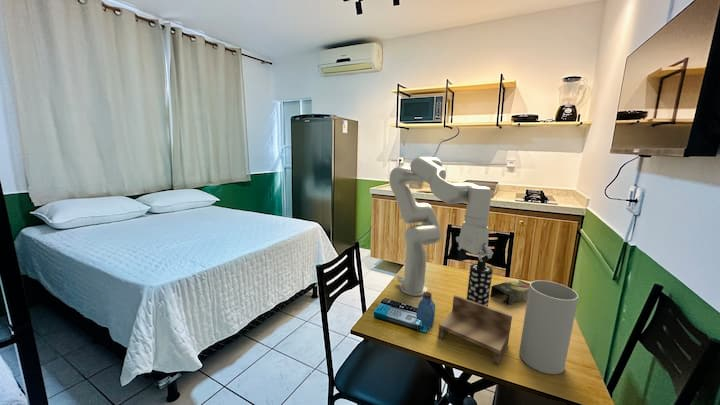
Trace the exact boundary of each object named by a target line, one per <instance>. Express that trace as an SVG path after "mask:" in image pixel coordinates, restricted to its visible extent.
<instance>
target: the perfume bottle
mask: <svg viewBox="0 0 720 405" xmlns="http://www.w3.org/2000/svg"><path fill="white" fill-rule="evenodd" d="M421 297H422V298H421V300H420V301H419V302H418V306H417V309H416V315H415V316H416V317H415V320H416V319H419V320H421V321H422V325H423V326H425V327H424V328H428V329H433V328H434V327H433V326H434V321H435V316H436V312H435V311H436V304H435V301H434V300H433V297H432V292H429V291H427V292H424V293H423V295H422V296H421ZM423 326H422V327H423Z"/></svg>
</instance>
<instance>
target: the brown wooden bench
mask: <svg viewBox="0 0 720 405" xmlns="http://www.w3.org/2000/svg"><path fill="white" fill-rule="evenodd" d="M451 309H452V310H451V311H450V312H449V313H448V314H447V315H446V316H445V317H444V319H443V320H442V321H440V323H439V325H438V335H437V339H438V340H441V341H443V340H444V339H445V338H446V337H447V336H448V335H449V334H450V333H451V334H453V335H455V336H458V337H460V338H462V339H464V340H467V341H469V342H471V343H473V344H475V345H478V346H481V348H485V349H488V350H489V351H492V352H493V359H492V365H494V366H496V367H499V365H500V362H502V361H501V360H502V359H503V356H504V354H505V352H506V350H507V348H508V347H509V346H508V345H509V342H510V341H509V340H510V333H511V326H512V321H513V320H512V319H513V314H510V313H508V312H505V311H501V310H499V309H497V308H496V309H495V308H493V307H490V306H489V305H488V306H485V305H482V304H479V303H476V302H473V301H471V300H468V299H467V298H465V297H462V296H460V295H457V294H454V295H453V301H452V308H451Z"/></svg>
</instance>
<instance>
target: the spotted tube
mask: <svg viewBox="0 0 720 405" xmlns="http://www.w3.org/2000/svg"><path fill="white" fill-rule="evenodd" d="M492 278H493V268H492V267H490V266H489V265H485V271H481V272H478V271H477V263H472V264H470V265H469V274H468V283H467V291H466V299H468V300H471V301H473V302H476V303H479V304H482V305H485V306H488V307H489V303H490V302H489V301H490V294H491V286H492V285H491V284H492Z"/></svg>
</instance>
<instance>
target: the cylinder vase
mask: <svg viewBox="0 0 720 405" xmlns="http://www.w3.org/2000/svg"><path fill="white" fill-rule="evenodd" d="M529 284H530V287H529V293H528V299H527V300H526V306H525V313H524V319H523V326H522V331H521V332H522V333H521V338H520V344H519V351H518V353H519V357H520V358H521V359H522V360H523V362H524V363H525V364H526V365H527V366H529V367H530V368H532V369H534V370H536V371H538V372H540V373H542V374H547V375H559V374H562V373H563V372H564V371H565V367H566V363H567V357H568V353H569V347H570V343H571V336H572V331H573V327H574V322H575V315H576V311H577V306H578V302H579V301H578V300H579V294H578V293H577V292H576V291H575V290H574V289H572V288H570V287H569V286H567V285H564V284H561V283H558V282H555V281H550V280H542V279H541V280H539V279H538V280H532V281H531V282H530V283H529Z"/></svg>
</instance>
